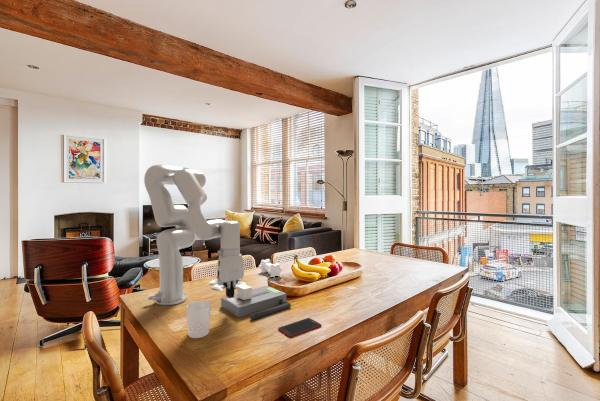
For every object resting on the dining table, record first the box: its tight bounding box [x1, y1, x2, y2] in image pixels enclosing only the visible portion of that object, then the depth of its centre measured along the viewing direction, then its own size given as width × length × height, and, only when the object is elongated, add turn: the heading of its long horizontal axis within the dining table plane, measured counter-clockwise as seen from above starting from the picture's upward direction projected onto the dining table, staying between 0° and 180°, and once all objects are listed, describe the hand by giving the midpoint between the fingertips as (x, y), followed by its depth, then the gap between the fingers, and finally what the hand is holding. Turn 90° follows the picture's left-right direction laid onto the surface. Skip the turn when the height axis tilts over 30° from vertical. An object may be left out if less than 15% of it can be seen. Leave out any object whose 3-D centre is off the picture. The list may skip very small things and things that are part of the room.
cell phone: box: [277, 317, 322, 339], centre depth 108 cm, size 8×15×1 cm, turn 128°
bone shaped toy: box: [258, 258, 283, 278], centre depth 174 cm, size 15×9×8 cm, turn 34°
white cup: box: [185, 300, 212, 339], centre depth 102 cm, size 8×8×10 cm
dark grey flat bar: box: [249, 300, 292, 321], centre depth 122 cm, size 20×6×2 cm, turn 133°
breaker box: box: [220, 285, 287, 318], centre depth 129 cm, size 24×14×4 cm, turn 133°
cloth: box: [207, 278, 247, 291], centre depth 157 cm, size 22×19×6 cm
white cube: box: [236, 283, 253, 300], centre depth 125 cm, size 4×5×4 cm
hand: (230, 296), depth 121 cm, fingers closed
